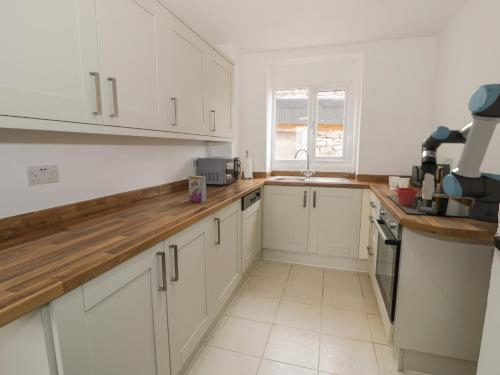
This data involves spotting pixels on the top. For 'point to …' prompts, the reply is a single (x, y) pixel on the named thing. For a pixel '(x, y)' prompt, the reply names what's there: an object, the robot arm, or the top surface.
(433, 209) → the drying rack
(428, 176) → the white tall block
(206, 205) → the top surface
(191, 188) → the candy bar box
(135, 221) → the top surface
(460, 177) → the robot arm
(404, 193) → the flower pot
